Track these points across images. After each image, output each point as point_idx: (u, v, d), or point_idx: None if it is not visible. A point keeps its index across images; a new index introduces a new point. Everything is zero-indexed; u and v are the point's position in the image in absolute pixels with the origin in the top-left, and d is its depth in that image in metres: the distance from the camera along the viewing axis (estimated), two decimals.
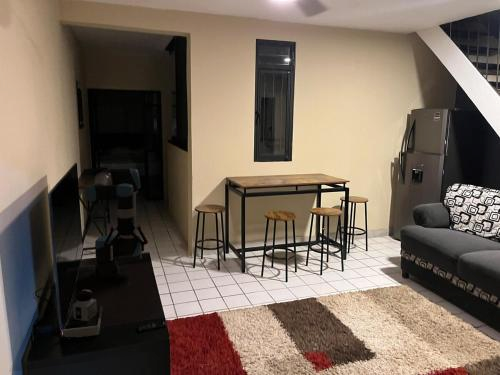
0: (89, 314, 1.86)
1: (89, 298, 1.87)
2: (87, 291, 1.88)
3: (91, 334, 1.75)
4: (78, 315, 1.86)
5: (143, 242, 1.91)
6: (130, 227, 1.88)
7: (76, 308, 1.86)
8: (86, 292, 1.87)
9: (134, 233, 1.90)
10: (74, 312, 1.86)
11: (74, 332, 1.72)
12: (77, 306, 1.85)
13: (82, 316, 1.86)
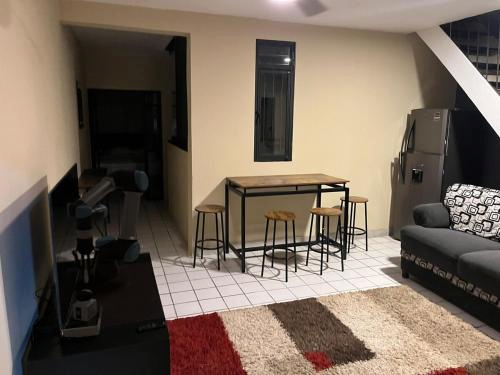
0: (89, 314, 1.86)
1: (89, 298, 1.87)
2: (87, 291, 1.88)
3: (91, 334, 1.75)
4: (78, 315, 1.86)
5: None
6: (90, 246, 1.95)
7: (76, 308, 1.86)
8: (86, 292, 1.87)
9: (89, 255, 1.97)
10: (74, 312, 1.86)
11: (74, 332, 1.72)
12: (77, 306, 1.85)
13: (82, 316, 1.86)
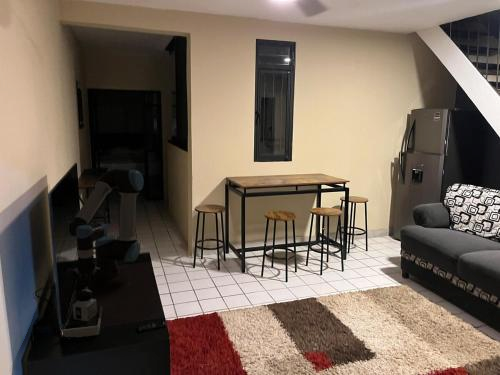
0: (89, 314, 1.86)
1: (89, 298, 1.87)
2: (87, 291, 1.88)
3: (91, 334, 1.75)
4: (78, 315, 1.86)
5: None
6: (91, 265, 1.97)
7: (76, 308, 1.86)
8: (86, 292, 1.87)
9: (90, 274, 1.98)
10: (74, 312, 1.86)
11: (74, 332, 1.72)
12: (77, 306, 1.85)
13: (82, 316, 1.86)
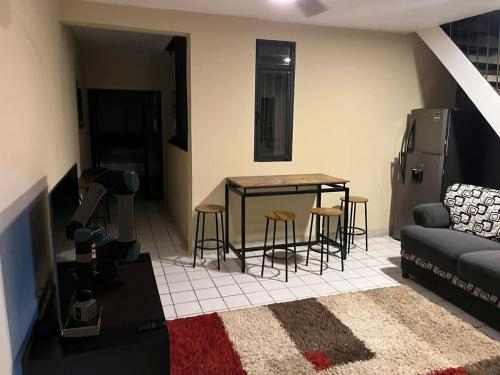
0: (88, 315, 1.86)
1: (89, 298, 1.87)
2: (87, 291, 1.88)
3: (91, 334, 1.75)
4: (78, 316, 1.86)
5: None
6: (90, 269, 1.91)
7: (76, 308, 1.85)
8: (86, 292, 1.87)
9: None
10: (74, 312, 1.86)
11: (74, 332, 1.72)
12: (77, 307, 1.85)
13: (82, 317, 1.85)
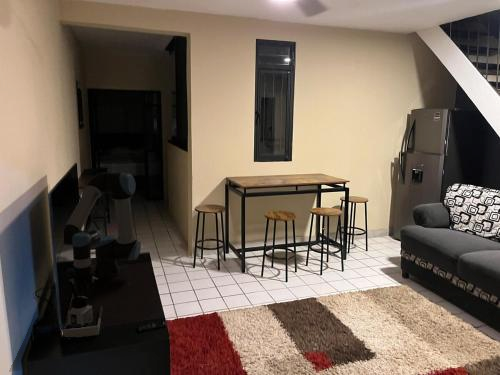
0: (84, 322, 1.80)
1: (85, 305, 1.81)
2: (83, 298, 1.82)
3: (91, 334, 1.75)
4: (74, 323, 1.80)
5: None
6: (88, 275, 1.85)
7: (71, 315, 1.79)
8: (82, 299, 1.81)
9: (87, 284, 1.87)
10: (69, 319, 1.80)
11: (74, 332, 1.72)
12: (72, 314, 1.79)
13: None
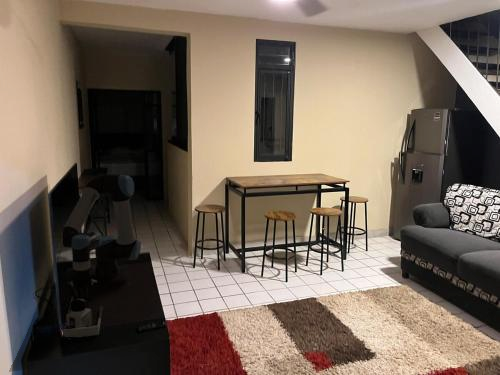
0: (83, 325, 1.77)
1: (83, 308, 1.78)
2: (81, 300, 1.79)
3: (91, 334, 1.75)
4: (72, 326, 1.77)
5: (86, 299, 1.84)
6: (88, 278, 1.82)
7: (70, 318, 1.76)
8: (80, 302, 1.78)
9: None
10: (68, 323, 1.77)
11: (74, 332, 1.72)
12: (71, 317, 1.76)
13: (76, 327, 1.77)
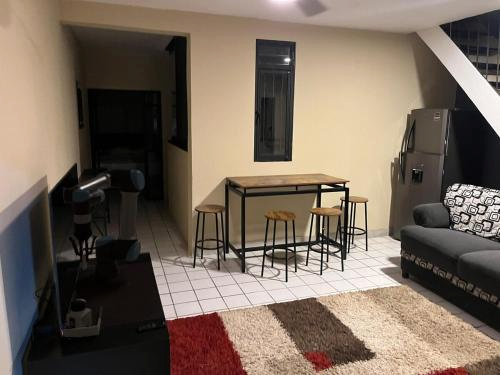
0: (83, 325, 1.77)
1: (83, 308, 1.78)
2: (81, 301, 1.79)
3: (91, 334, 1.75)
4: (72, 326, 1.77)
5: (87, 253, 1.90)
6: (88, 231, 1.88)
7: (70, 318, 1.76)
8: (80, 302, 1.78)
9: (87, 241, 1.90)
10: (68, 323, 1.77)
11: (74, 332, 1.72)
12: (71, 317, 1.76)
13: (76, 327, 1.77)
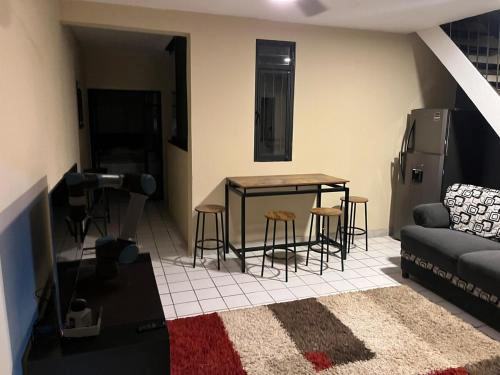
0: (83, 325, 1.77)
1: (83, 308, 1.78)
2: (81, 301, 1.79)
3: (91, 334, 1.75)
4: (72, 326, 1.77)
5: None
6: (83, 213, 1.97)
7: (70, 318, 1.76)
8: (80, 302, 1.78)
9: (82, 222, 1.99)
10: (68, 323, 1.77)
11: (74, 332, 1.72)
12: (71, 317, 1.76)
13: (76, 327, 1.77)
